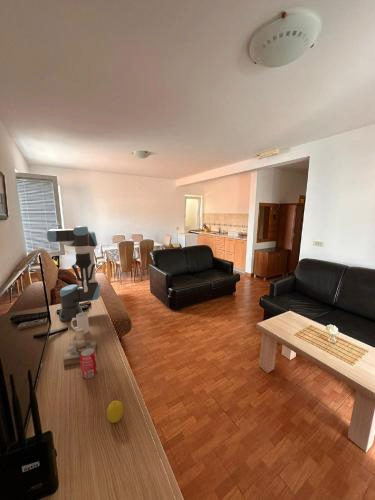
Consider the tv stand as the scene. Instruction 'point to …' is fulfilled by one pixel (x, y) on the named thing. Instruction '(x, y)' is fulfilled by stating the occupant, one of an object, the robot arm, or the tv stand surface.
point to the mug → (81, 322)
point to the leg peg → (80, 340)
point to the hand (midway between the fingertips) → (85, 291)
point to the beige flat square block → (73, 354)
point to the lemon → (115, 411)
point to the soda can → (88, 363)
